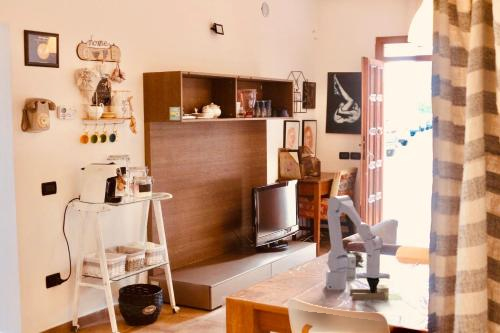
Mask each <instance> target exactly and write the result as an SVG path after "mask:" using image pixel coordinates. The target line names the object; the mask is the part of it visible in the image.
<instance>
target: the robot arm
mask: <svg viewBox="0 0 500 333" xmlns="http://www.w3.org/2000/svg"><path fill="white" fill-rule="evenodd" d="M326 203H327V210H326V211H327V212H326V217H327V223H328V224H327V225H328V233H329V241H330V252H329V253H330V254H329V253H328V255H327V256H328V259H327V267H328V268H329V270H326V273H325V279H326V280H325V286H326V289H327V290H337V291H343V290H346V289H347V277H346V272H347V268H348V267H349V265H350V260H349V258H348V255H347V252H346V251H345V250H344V249H345V248H344V244H343V243H344V242H343V234H342V227H341V220H340V216H341V215H342V213H344V214H346V215H347V216H348V217H349V219H350V220H351V222H353V224H354V225H355V226H356V233H357V234H358V235H359V237H360V238H361V239H362V241H363V247H364V249H365V253H366V265H365V266H366V268H365V269H366V270H365V272H360V273H356V277H355V278H356V280H359V279H365V280H366V281H367V284H368V286H369V289H370V291H371V293H375V290H376V287H377V285H379V283H380V279H387V280H390V278H391V277H390V276H391V275H390V273H386V272H385V273H384V272H380V270H381V269H380V264H381V263H380V260H381V249H382V247H383V245H384V244H383V243H384V242H383V240H382V238H381V237H380V236H377V234H375V233H374V231H373V230H372V229H371V225H370V224H368V223H366V222H363V219H362V218H361V216H360V214H359V213H358V211H357V209H356V207H355V206H354V201H353V200H352V199H351V197H350V196H349V195H347V194H344V195H339V196H331V197H330V198H329V199H328V200H327V202H326ZM331 249H332V251H331Z"/></svg>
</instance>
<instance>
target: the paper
mask: <svg viewBox="0 0 500 333" xmlns="http://www.w3.org/2000/svg"><path fill="white" fill-rule="evenodd" d="M343 249H344V250H345V251H346V252H347V254H354V255H355V256H356V264H360V263H361V264H362V263H363V262H364V260H365V259H363V258H364V257H362V255H363V253H361V252H360V251H359V250H358V251H354V252H353V251H352V252H351V251H350V249H349V248H343ZM331 251H332V249H331V248H330V252H331ZM330 252H329V253H328V255H329V254H330Z"/></svg>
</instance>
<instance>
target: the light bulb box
mask: <svg viewBox="0 0 500 333" xmlns="http://www.w3.org/2000/svg"><path fill="white" fill-rule="evenodd" d="M347 255H348V258H349V260H350V265H349V267H348V268H347V272H346V278H356V272H357V271H356V270H357V267H356V266H357V263H356V256H355V255H354V254H347Z"/></svg>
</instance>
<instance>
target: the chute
mask: <svg viewBox="0 0 500 333" xmlns="http://www.w3.org/2000/svg"><path fill="white" fill-rule="evenodd" d="M349 290H350V291H349V295H350V296H351V299H352V300H354V301H357V300H358V301H359V300H360V301H361V300H362V301H365V300H366V301H367V300H368V301H369V300H370V301H371V300H373V301H374V300H375V301H378V300H379V301H404V299H403V297H402V296H401V295H400V293H389V298H385V293H371V291H370V288H350V289H349Z"/></svg>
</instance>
